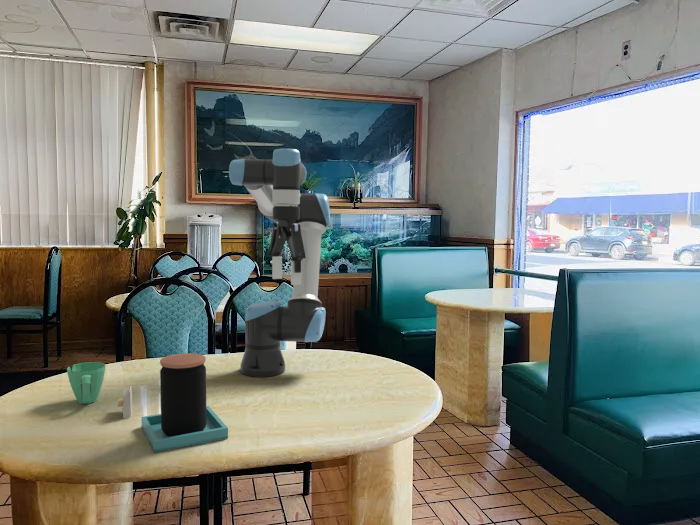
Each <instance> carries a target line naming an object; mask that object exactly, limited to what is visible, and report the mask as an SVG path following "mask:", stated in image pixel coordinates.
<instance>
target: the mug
mask: <svg viewBox="0 0 700 525" xmlns="http://www.w3.org/2000/svg"><path fill="white" fill-rule="evenodd" d="M66 372H67V377H68V381H69V384H70V387H71V389H72V392H73V395H74V397H75V399H76V401H77V403H78V404H80V405H88V404H93V403H96V402H97V400H98V398H99V395H100V393H101V391H102V390H101V389H102V386H103V382H104V378H105V373H106V364H105V363H103V362H98V361H87V362H79V363H76V364H72V366H71V367H70V366H68V367H67V368H66ZM92 402H93V403H92Z"/></svg>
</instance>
